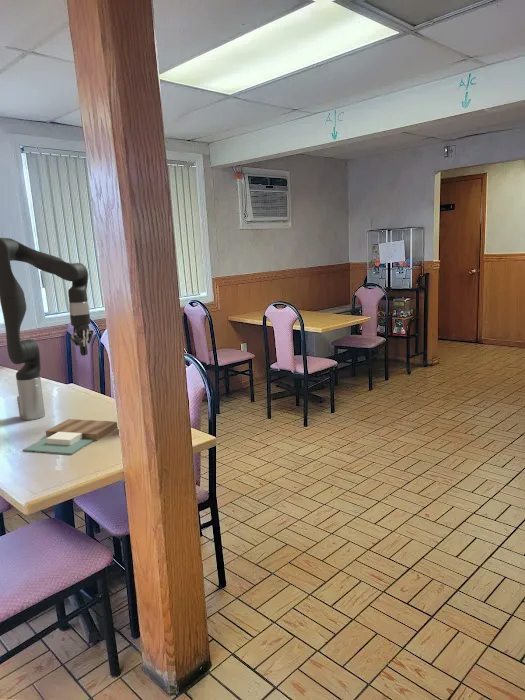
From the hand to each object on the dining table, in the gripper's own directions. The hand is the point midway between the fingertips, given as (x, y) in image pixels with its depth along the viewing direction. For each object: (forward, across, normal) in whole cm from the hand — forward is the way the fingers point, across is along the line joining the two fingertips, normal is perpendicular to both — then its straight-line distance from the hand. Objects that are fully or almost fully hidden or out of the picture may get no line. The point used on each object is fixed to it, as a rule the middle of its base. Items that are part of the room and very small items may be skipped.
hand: (84, 355), depth 212 cm
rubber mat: (+27, +31, +8) cm, 42 cm away
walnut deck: (+27, +17, +8) cm, 33 cm away
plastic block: (+25, +28, +8) cm, 38 cm away
